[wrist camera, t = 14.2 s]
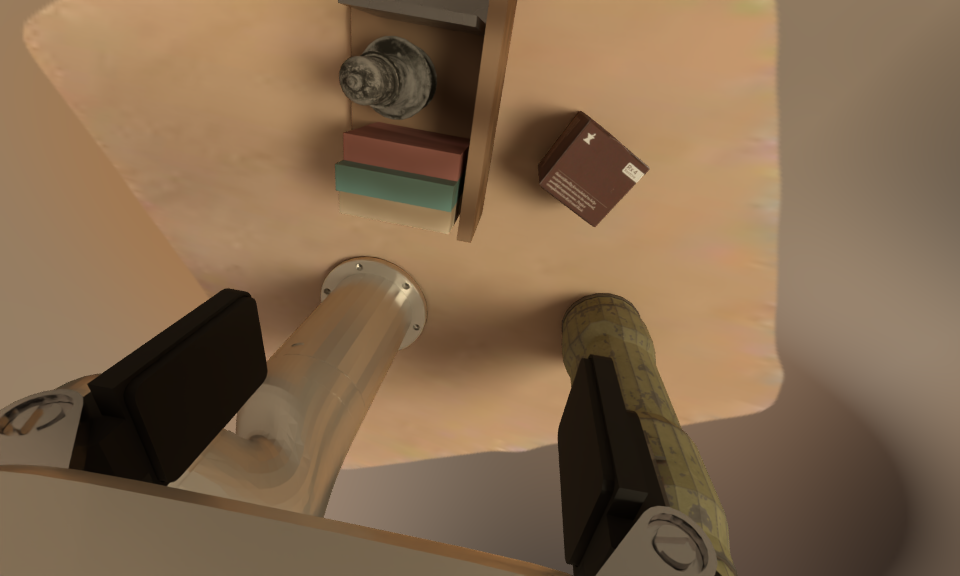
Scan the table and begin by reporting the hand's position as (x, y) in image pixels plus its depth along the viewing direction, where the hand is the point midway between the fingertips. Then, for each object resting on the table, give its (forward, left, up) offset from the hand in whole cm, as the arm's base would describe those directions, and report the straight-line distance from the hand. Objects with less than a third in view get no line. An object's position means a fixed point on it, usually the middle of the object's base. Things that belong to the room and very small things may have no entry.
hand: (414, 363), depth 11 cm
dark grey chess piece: (-2, +10, -29) cm, 31 cm away
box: (+6, -5, -30) cm, 31 cm away
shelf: (-2, +8, -30) cm, 31 cm away
